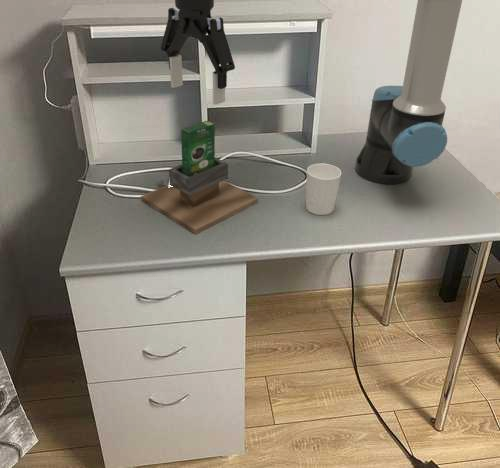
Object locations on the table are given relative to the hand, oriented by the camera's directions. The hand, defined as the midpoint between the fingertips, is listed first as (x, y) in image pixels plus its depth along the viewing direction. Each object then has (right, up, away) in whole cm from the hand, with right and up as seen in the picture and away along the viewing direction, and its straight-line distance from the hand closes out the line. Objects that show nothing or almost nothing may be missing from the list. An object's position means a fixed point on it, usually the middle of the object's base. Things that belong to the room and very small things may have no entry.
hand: (197, 94), depth 113 cm
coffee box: (-1, -17, +11) cm, 20 cm away
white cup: (+28, -24, +14) cm, 40 cm away
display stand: (-1, -22, +15) cm, 27 cm away
